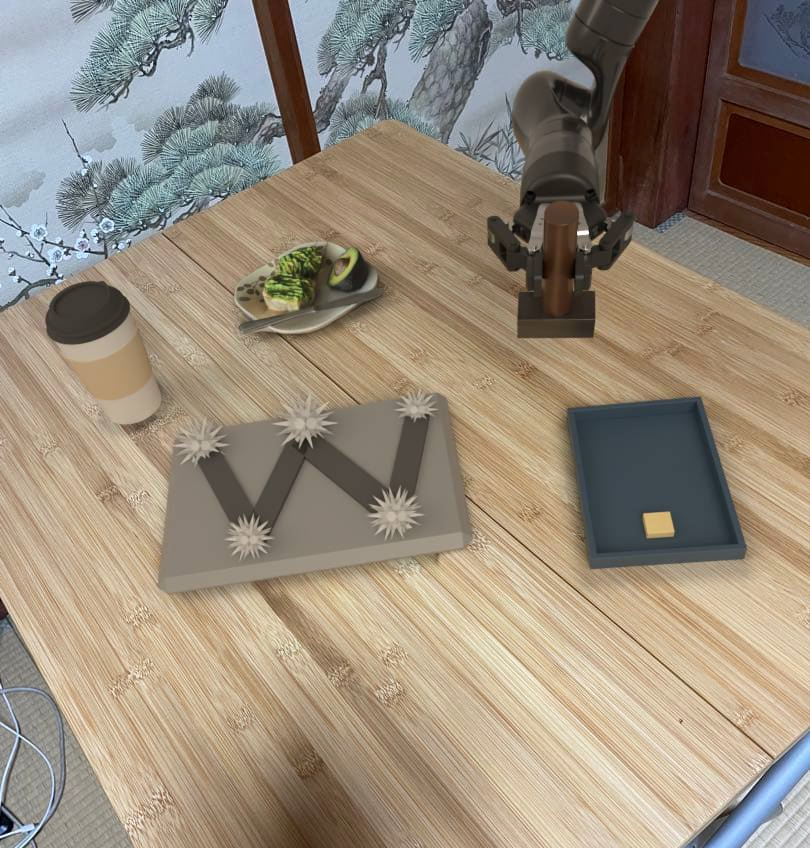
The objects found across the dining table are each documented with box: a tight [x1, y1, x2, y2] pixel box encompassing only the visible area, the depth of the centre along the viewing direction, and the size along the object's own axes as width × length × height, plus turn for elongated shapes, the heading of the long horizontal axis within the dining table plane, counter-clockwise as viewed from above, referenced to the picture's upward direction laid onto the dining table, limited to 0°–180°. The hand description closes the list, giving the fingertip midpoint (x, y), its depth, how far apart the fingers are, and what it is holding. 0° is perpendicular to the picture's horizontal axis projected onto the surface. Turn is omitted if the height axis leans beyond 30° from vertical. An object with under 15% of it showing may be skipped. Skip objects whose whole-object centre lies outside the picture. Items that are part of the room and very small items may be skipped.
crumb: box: [643, 512, 675, 538], centre depth 76 cm, size 2×2×1 cm
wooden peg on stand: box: [516, 201, 597, 339], centre depth 73 cm, size 4×7×13 cm, turn 83°
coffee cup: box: [44, 280, 163, 426], centre depth 92 cm, size 9×9×15 cm
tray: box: [566, 396, 748, 570], centre depth 79 cm, size 19×13×2 cm
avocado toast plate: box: [233, 240, 386, 335], centre depth 104 cm, size 19×18×5 cm
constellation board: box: [157, 386, 474, 595], centre depth 82 cm, size 30×22×7 cm
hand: (558, 286), depth 70 cm, fingers closed on wooden peg on stand, 3 cm apart
